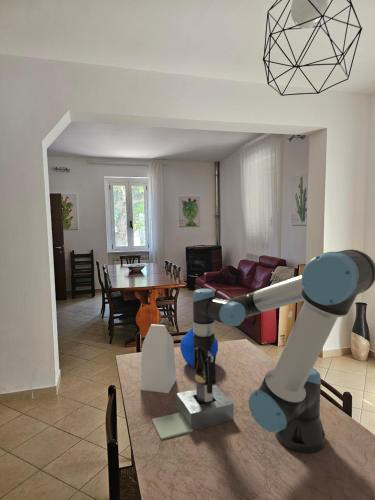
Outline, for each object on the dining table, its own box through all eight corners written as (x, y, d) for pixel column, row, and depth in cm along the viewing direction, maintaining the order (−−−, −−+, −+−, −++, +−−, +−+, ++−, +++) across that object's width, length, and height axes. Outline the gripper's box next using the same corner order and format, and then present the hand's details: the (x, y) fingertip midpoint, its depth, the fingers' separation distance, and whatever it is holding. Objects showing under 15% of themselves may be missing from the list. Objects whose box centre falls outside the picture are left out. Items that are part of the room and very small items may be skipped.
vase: (186, 374, 149) (185, 310, 146) (176, 358, 166) (175, 300, 164) (223, 369, 154) (223, 307, 151) (210, 354, 171) (210, 298, 169)
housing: (233, 419, 115) (233, 403, 114) (191, 430, 109) (190, 413, 109) (215, 399, 128) (215, 385, 127) (176, 408, 122) (176, 393, 122)
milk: (140, 389, 136) (139, 328, 134) (150, 377, 147) (149, 320, 145) (168, 393, 133) (167, 330, 131) (176, 379, 144) (175, 321, 142)
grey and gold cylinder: (216, 417, 117) (216, 378, 115) (199, 421, 114) (199, 382, 113) (208, 407, 123) (208, 370, 122) (192, 411, 120) (192, 373, 119)
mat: (193, 431, 109) (193, 429, 109) (161, 439, 105) (161, 438, 105) (181, 413, 119) (181, 411, 119) (151, 420, 115) (151, 418, 115)
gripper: (226, 340, 108) (226, 407, 110) (202, 323, 126) (202, 381, 128) (205, 344, 105) (206, 412, 107) (184, 326, 124) (184, 385, 126)
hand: (204, 395), depth 118 cm, fingers closed on grey and gold cylinder, 7 cm apart
